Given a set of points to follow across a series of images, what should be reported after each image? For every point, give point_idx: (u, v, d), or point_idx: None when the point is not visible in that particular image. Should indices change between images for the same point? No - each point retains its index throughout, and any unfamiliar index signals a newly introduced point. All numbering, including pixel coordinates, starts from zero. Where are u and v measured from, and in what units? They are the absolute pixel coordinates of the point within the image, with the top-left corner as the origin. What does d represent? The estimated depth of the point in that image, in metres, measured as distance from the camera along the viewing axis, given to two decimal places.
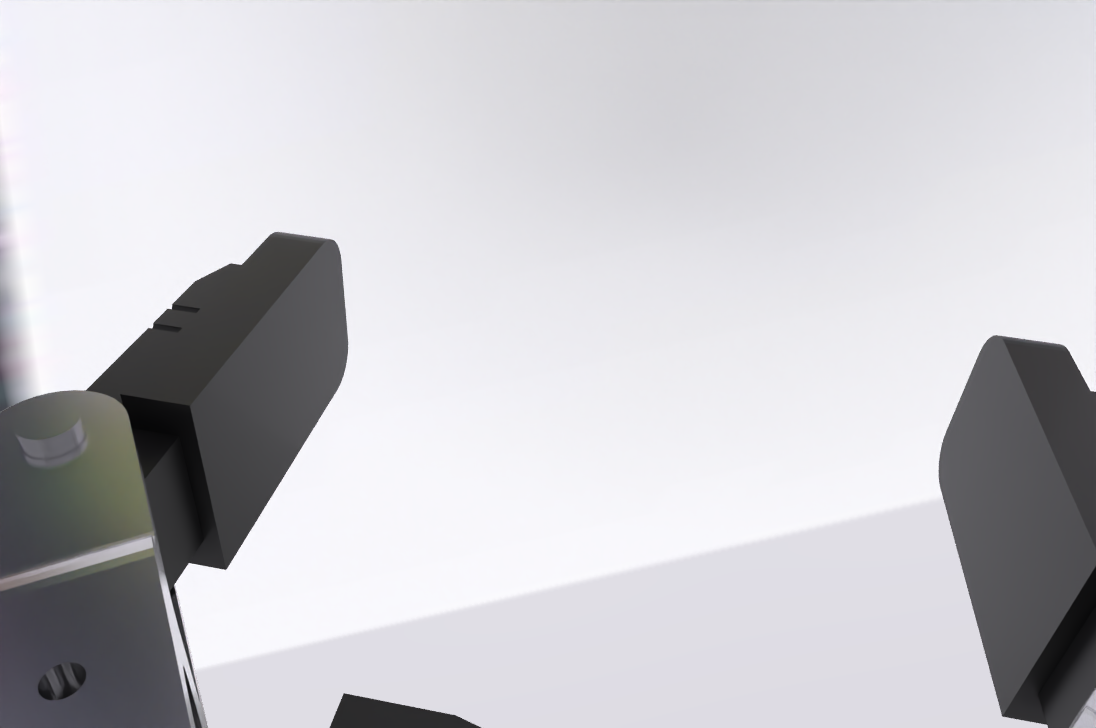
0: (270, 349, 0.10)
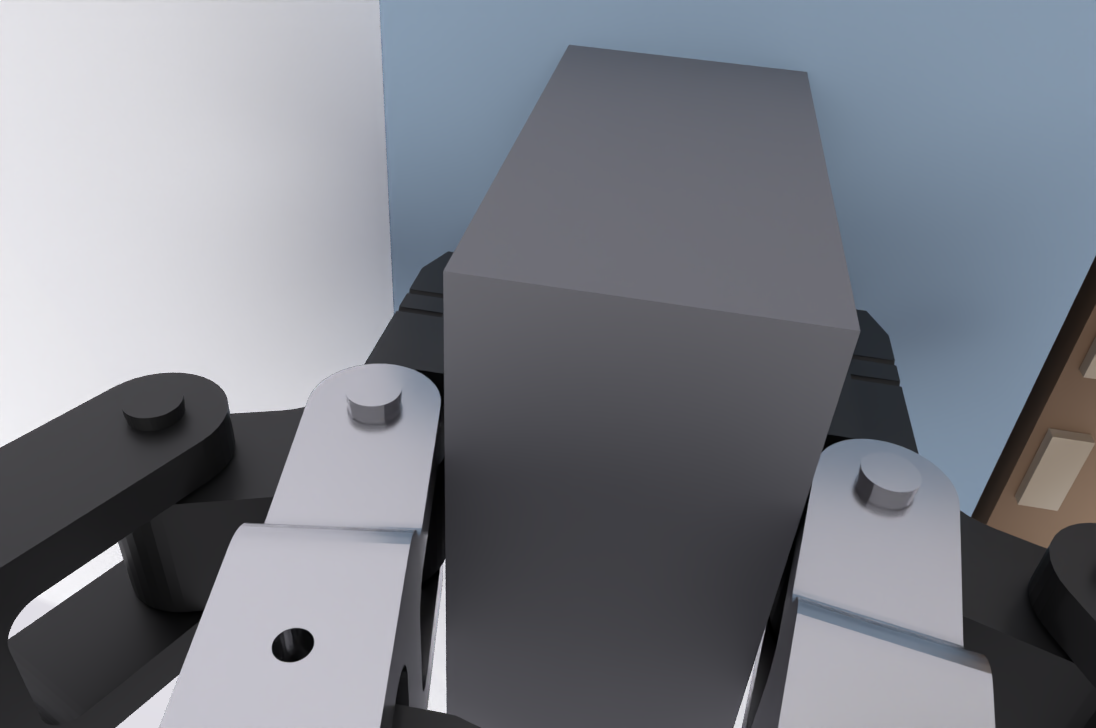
0: None
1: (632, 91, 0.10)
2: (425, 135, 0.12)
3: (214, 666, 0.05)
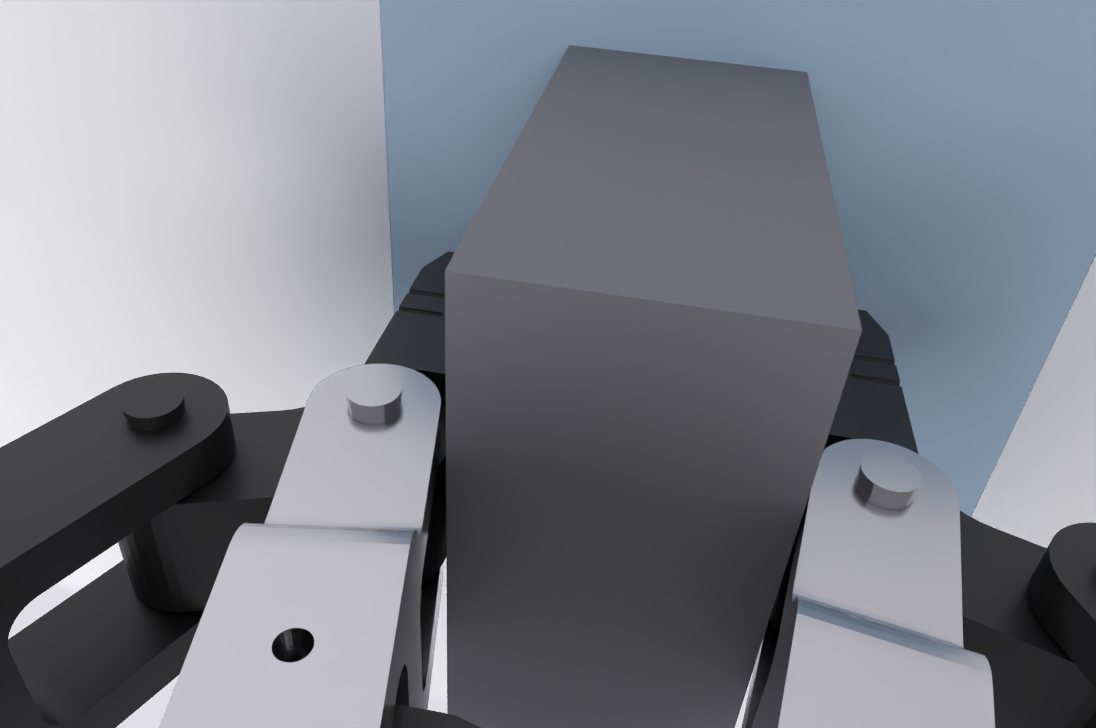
0: None
1: (632, 91, 0.10)
2: (425, 135, 0.12)
3: (214, 666, 0.05)
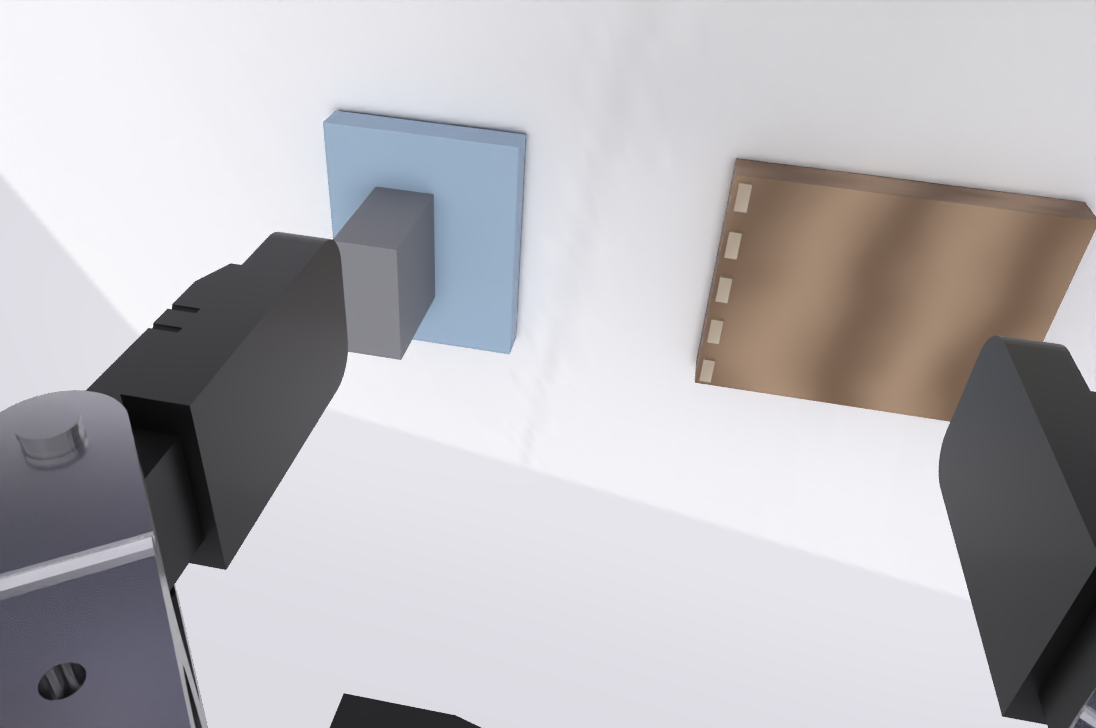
0: (269, 349, 0.10)
1: (384, 201, 0.43)
2: (341, 207, 0.46)
3: None
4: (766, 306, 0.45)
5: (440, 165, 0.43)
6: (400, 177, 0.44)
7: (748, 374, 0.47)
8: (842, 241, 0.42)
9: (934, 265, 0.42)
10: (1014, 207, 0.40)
